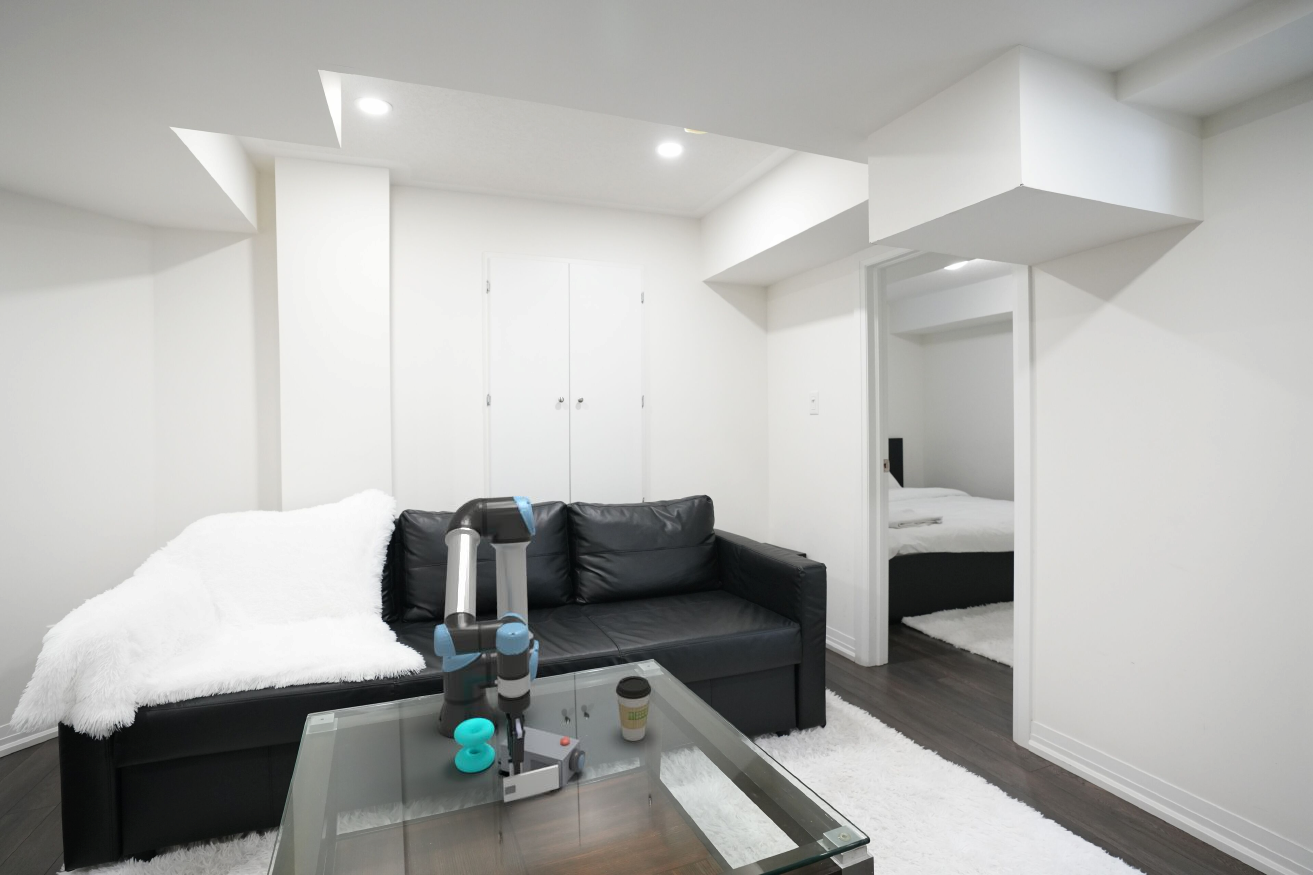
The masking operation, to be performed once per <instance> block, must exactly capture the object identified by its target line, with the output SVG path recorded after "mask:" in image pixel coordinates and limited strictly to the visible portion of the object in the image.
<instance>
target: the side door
mask: <svg viewBox="0 0 1313 875" xmlns="http://www.w3.org/2000/svg"><path fill="white" fill-rule="evenodd" d="M502 780H503V781H502V782H503V784H502V785H503V802H504V803H508V802H512V801H514V800H515V801H516V800H519V799H523V798H526V797H529V796H530V797H531V796H534V795H537V794H542V793H545V792H549V791H553V790H557V789H561V788H562V787H561V761H558V762H557V765H554V766H550V767H546V768H542V769H538V770H534V771H530V772H526V773H522V774H518V775H514V776H510V775H509V776H507V777H503V778H502Z"/></svg>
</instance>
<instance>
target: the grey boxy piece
mask: <svg viewBox="0 0 1313 875" xmlns="http://www.w3.org/2000/svg"><path fill="white" fill-rule="evenodd" d="M524 729H525V731H526V733H525V739H524V762H522V773H526V772H530V771H534V770H538V769H542V768H546V767H550V766H554V765H557V762H558V761H561V788H564V787H565V786H566V784H567V783H568V782H569V781H570V779H572V777H573V776H574V775H575V774H576V773H580V772H581V771H582V770H583V768H584V766H585V762H586V752H585V751H584V750H583V749H581V740H579V739H578V738H577V739H576V738H573V737H569V736H565V735H560V734H557V733H552V732H548V731H544V730H540V729H536V728H533V727H528V726H526V725H525V726H524ZM499 745H500V770H501V771H503V772H504V771H505V772H508V773H510V764H508V759H509V758H511V757H510V756H509V750H508V749H507V747H508V744H507V737H506V738H505V739H504V740H503V741H502V742H501V743H500V744H499Z"/></svg>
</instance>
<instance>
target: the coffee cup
mask: <svg viewBox="0 0 1313 875" xmlns="http://www.w3.org/2000/svg"><path fill="white" fill-rule="evenodd" d="M615 692H616V695H617V703H618V713H619V719H620V725H621V732H622V734H621V735H622V737H623V739H625V740H627V741H630V742H631V741H632V742H635V741H640V740H642V739H644V737H645V734H646V724H647V722H648V716H649V715H648V714H649V713H648V712H649V706H650V694H651V692H652V686H651V685H650V683H649V680H648V679H647V678H645V677H643V676H638V675H629V676H626V677H623V678H620V680H618V683H617V685H616V688H615Z"/></svg>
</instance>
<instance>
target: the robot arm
mask: <svg viewBox="0 0 1313 875" xmlns="http://www.w3.org/2000/svg"><path fill="white" fill-rule="evenodd" d="M530 500H531V499H529V497H527V496H516V495H515V496H514V495H513V496H503V497H501V496H500V497H499V496H498V497H484V498H483V497H477V498H474V499H471V500H468V501H467V502H465V503H464V504H462V505H461V506H460V507H458V509H456V510H455V512H454V513H453V514H452V516H451V517H450V520H448V523H447V525H446V528H445V535H444V542H445V543H444V544H445V545H446V546H447V549H448V550H447V568H446V582H445V584H446V585H445V586H446V587H445V601H444V602H445V605H444V619H443V620H444V621H443V623H442V624H437V625H436V626H435V628H434V634H433V636H434V637H433V645H434V646H433V647H434V649H433V650H434V654H435V655H436V656H437V657H442V666H441V669H442V670H441V671H442V676H443V677H442V679H443V681H442V682H443V703H442V706H441V710H440V713H439V716H438V719H437V721H438V722H437V724H438V731H439V732H440V734H442V735H443V736H445V737H448V738H453V739H455V738H454V732H455V729H456V728H457V727H458V726H459V725H460V724H461V723H462V722H464V721H466V720H469V719H474V718H483V719H487V720H489V721H490V722H492V723H494V712H493V711H494V710H493V708H492V706H491V705H490V701H489V698H488V695H487V689H490V688H492V689H493V688H497V691H498V692H497V707H498V709H499V711H501V713H504V719H505V725H506V726H505V727H506V728H505V729H506V738H507V744H508V747H507V749H508V750H509V756H510V757H511V758H509V759H508V764H510V772H509V777H510V776H514V775H518V774H522V762H524V739H525V733H526V731H525V729H524V724H525V714H523V713H524V711H526V710H527V709H528V708H529V707H530V705H531V683H533V682H534V681H535V679H536V676H537V671H538V664H539V649H540V648H539V645H540V644H539V641H538V640H536V639H534V634H533V633H532V632H531V631H530V630H529V625H528V624H529V622H528V620H529V619H528V616H529V615H528V587H527V586H528V585H527V584H528V583H527V580H528V579H527V578H528V577H527V552H526V551H527V549H526V548H527V546H528V545H530V543H531V542H532V540H531V538H532V537H533V536H535V535H536V528H535V526H536V524H535V519H534V514H533V508H532V503H531V501H530ZM481 539H490V540H489V541H490V543H489V544H490V546H492V547H493V548H494V549H495V564H496V565H495V567H496V570H495V572H496V576H495V577H496V603H497V605H496V609H497V613H496V614H497V616H496V617H497V619H493V620H480V621H476V617H477V616H476V612H477V611H476V610H477V609H476V607H477V605H476V604H477V602H476V601H477V600H476V599H477V555H478V554H477V548H478V546H479V545H480V542H481Z"/></svg>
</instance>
